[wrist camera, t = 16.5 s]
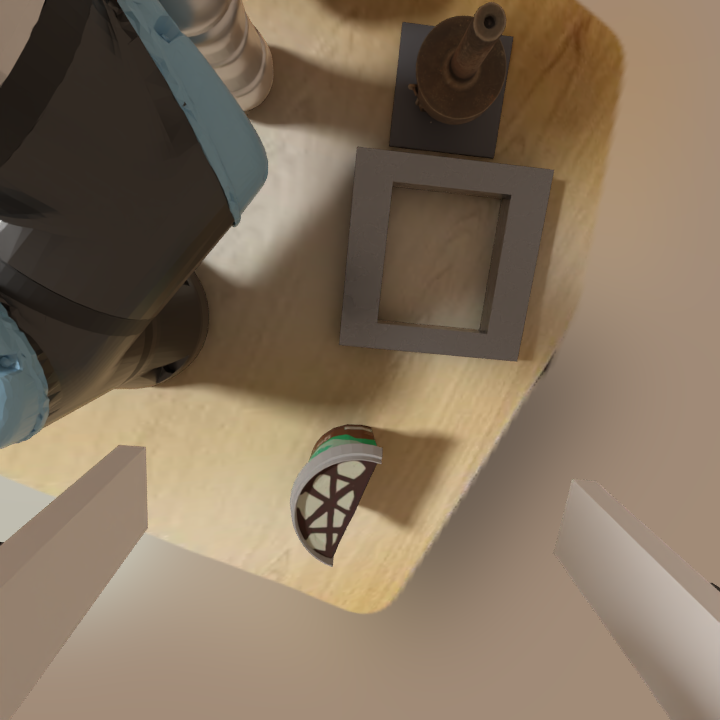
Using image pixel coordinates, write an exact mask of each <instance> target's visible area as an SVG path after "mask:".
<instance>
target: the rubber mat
mask: <svg viewBox="0 0 720 720" xmlns="http://www.w3.org/2000/svg"><path fill="white" fill-rule="evenodd" d="M434 27H435V26H429V25H421V24H414V23H406V22H403V23H402V32H401V41H400V50H399V60H398V69H397V78H396V88H395V97H394V106H393V116H392V125H391V134H390V144H389V146H392V147H401V148H409V149H417V150H426V151H434V152H443V153H451V154H460V155H468V156H477V157H485V158H494V154H495V148H496V142H497V135H498V129H499V123H500V117H501V111H502V104H503V98H504V92H505V86H506V80H507V73H508V67H509V61H510V55H511V49H512V42H513V37H511V36H503V35H501V36H500V40H501V42H502V45H503V48H504V51H505V55H506V75H505V79H504V83H503V86H502V88H501V91H500V93H499V95H498V96H497V98H496V99H495V101H494V102H493V103H492V104H491V105H490V106H489V107H488V109H487V110H486V111H485V112H484V113H483V114H481V115H480V116H479V117H477V118H476V119H474V120H472V121H470V122H468V123H464V124H459V125H451V124H445V123H442V122H439V121H437V120H435V119H433V118H432V117H430V116H429V115H428V114H427V112H421V111H420V108H419V106H418V105H416V104H415V102H416V100H417V96H415V93H414V91H413V90H411V89H409V88H408V85H409V84H417V79H416V61H417V56H418V53H419V50H420V47H421V45H422V43H423V41H424V39H425V38H426V36H427V35H428V34H429V32H430V31H431V30H432V29H433V28H434ZM430 122H431V123H430Z"/></svg>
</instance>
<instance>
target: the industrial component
mask: <svg viewBox="0 0 720 720" xmlns="http://www.w3.org/2000/svg"><path fill="white" fill-rule="evenodd" d="M505 26H506V16H505V12H504V10H503V9H502V7H501V6H499V5H498V4H496V3H494V2H489V3H486V4H485V5H483V6H481V7H480V8H479V9H478V10H477V11H476V13H475V14H474V17H471V16H456V17H452V18H449V19H446V20H444V21H442V22H441V23H439V24H438V25H436V26H435V27H434V28H433V29H432V30H431V31H430V32H429V34H428V35H427V36H426V38H425V39H424V41H423V43H422V45H421V47H420V50H419V53H418V56H417V61H416V79H417V84H409V85H408V88H409V89H411V90H413V91H414V93H415V96H417V100H416V102H415V104H416V105H418V106H419V108H420V111H421V112H427V114H428V115H429V116H430V117H432V118H433V119H435V120H437V121H439V122H442V123H445V124H451V125H459V124H464V123H468V122H470V121H472V120H474V119H476V118H477V117H479V116H480V115H481V114H483V113H484V112H485V111H486V110H487V109H488V107H489V106H490V105H491V104H492V103H493V102H494V101H495V99H496V98H497V96H498V95H499V93H500V91H501V88H502V86H503V83H504V79H505V75H506V55H505V51H504V48H503V45H502V42H501V40H500V36H501V35H502V33H503V31H504V29H505ZM503 116H504V115H503ZM430 123H431V122H430Z"/></svg>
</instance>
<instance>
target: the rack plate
mask: <svg viewBox="0 0 720 720" xmlns="http://www.w3.org/2000/svg"><path fill="white" fill-rule="evenodd" d="M553 173H554V170H550V169H542V168H533V167H525V166H516V165H508V164H499V163H491V162H482V161H474V160H465V159H457V158H448V157H440V156H431V155H423V154H414V153H406V152H397V151H389V150H380V149H372V148H363V147H357V154H356V165H355V176H354V187H353V198H352V209H351V220H350V231H349V242H348V253H347V264H346V275H345V286H344V297H343V308H342V319H341V330H340V341H339V345H345V346H356V347H367V348H377V349H388V350H399V351H410V352H420V353H431V354H442V355H452V356H463V357H474V358H485V359H495V360H506V361H517V359H518V354H519V349H520V344H521V339H522V333H523V328H524V323H525V318H526V313H527V307H528V302H529V297H530V292H531V287H532V282H533V276H534V271H535V266H536V261H537V256H538V251H539V245H540V240H541V235H542V230H543V225H544V220H545V214H546V209H547V204H548V199H549V194H550V189H551V183H552V178H553ZM392 186H393V187H401V188H410V189H419V190H428V191H437V192H446V193H454V194H463V195H472V196H481V197H490V198H499V199H502V200H501V205H500V211H499V217H498V223H497V229H496V235H495V241H494V247H493V253H492V259H491V265H490V271H489V277H488V282H487V288H486V294H485V300H484V306H483V312H482V318H481V324H480V330H476V329H466V328H455V327H445V326H435V325H424V324H414V323H404V322H393V321H383V320H378V311H379V302H380V293H381V284H382V275H383V266H384V257H385V248H386V239H387V230H388V221H389V212H390V203H391V194H392Z"/></svg>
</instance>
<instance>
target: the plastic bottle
mask: <svg viewBox="0 0 720 720" xmlns="http://www.w3.org/2000/svg"><path fill="white" fill-rule="evenodd" d="M158 1H159V2H160V3H161V5H162V6H163V7H164V9H165V10H166V12H167V13H168V14H169V16H170V17H171V18H172V19H173V20H174V21H175V23H176V24H177V25H178V27H179V30H180V31H181V32H182V33H183V34H185V35H186V36H187V37H189V38H190V40H191V41H192V42H193V43H194V45H195V46H196V47H197V48H198V50H199V51H200V52H201V53H202V54H203V56H204V57H205V58H206V60H207V61H208V62H209V64H210V65H211V66H212V68H213V69H214V70H215V72H216V73H217V74H218V76H219V77H220V78H221V80H222V81H223V82H224V84H225V85H226V87H227V88H228V89H229V91H230V92H231V94H232V95H233V96H234V98H235V99H236V101H237V102H238V104H239V105H240V107H241V108H242V110H243V111H248V110H251V109H253V108H255V107H257V106H258V105H260V104H261V103H262V102H263V101H264V100H265V98H266V97H267V96H268V94H269V92H270V90H271V87H272V83H273V74H274V71H273V60H272V55H271V52H270V49H269V47H268V45H267V43H266V41H265V40H264V38H263V37H262V35H261V34H260V32H259V31H258V30H257V29H256V27H255V26H254V25H253V24H252V23H251V21H250V19H249V17H248V16H247V14H246V12H245V9H244V6H243V3H242V0H158Z"/></svg>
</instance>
